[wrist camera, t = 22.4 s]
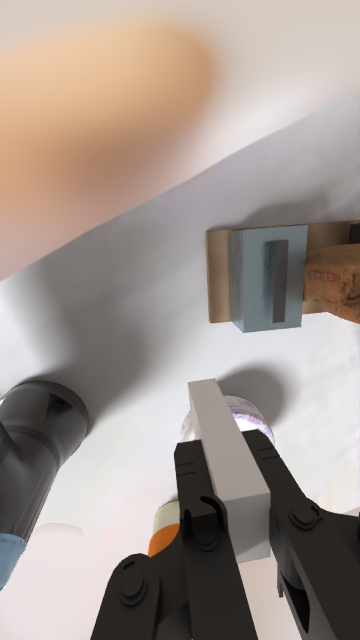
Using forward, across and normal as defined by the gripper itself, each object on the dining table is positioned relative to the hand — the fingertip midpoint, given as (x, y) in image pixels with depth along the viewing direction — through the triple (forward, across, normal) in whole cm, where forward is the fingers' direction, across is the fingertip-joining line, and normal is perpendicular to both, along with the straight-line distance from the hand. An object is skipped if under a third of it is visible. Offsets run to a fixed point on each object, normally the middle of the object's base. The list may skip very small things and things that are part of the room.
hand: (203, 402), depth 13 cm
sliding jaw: (+25, +13, +3) cm, 28 cm away
